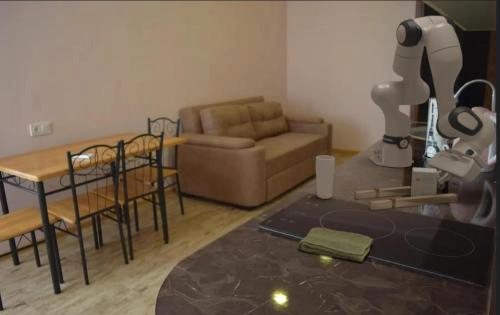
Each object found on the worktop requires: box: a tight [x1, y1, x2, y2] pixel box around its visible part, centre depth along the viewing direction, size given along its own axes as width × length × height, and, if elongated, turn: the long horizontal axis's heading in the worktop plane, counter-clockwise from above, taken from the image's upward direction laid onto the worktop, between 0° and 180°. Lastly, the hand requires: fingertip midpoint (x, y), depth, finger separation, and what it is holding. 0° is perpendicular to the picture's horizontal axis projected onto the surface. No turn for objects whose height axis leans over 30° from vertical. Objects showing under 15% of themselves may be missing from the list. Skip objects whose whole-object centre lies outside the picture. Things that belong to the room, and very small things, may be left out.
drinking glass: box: [315, 154, 336, 200], centre depth 144 cm, size 7×7×15 cm
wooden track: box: [353, 185, 458, 211], centre depth 141 cm, size 13×32×3 cm, turn 101°
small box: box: [410, 167, 438, 197], centre depth 141 cm, size 8×6×10 cm
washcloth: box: [297, 226, 374, 263], centre depth 106 cm, size 13×18×3 cm
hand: (437, 182), depth 142 cm, fingers closed
